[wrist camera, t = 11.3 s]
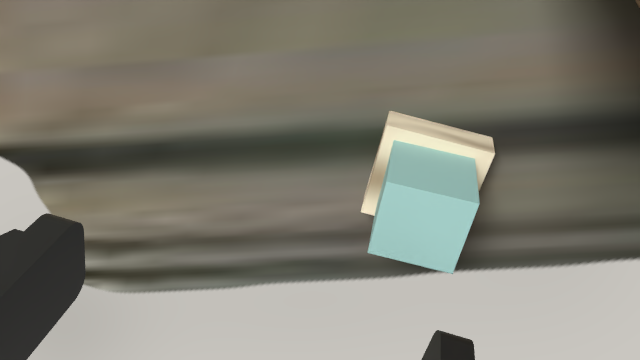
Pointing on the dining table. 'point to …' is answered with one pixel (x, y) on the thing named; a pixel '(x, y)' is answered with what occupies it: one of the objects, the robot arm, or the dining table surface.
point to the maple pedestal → (429, 137)
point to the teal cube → (425, 207)
